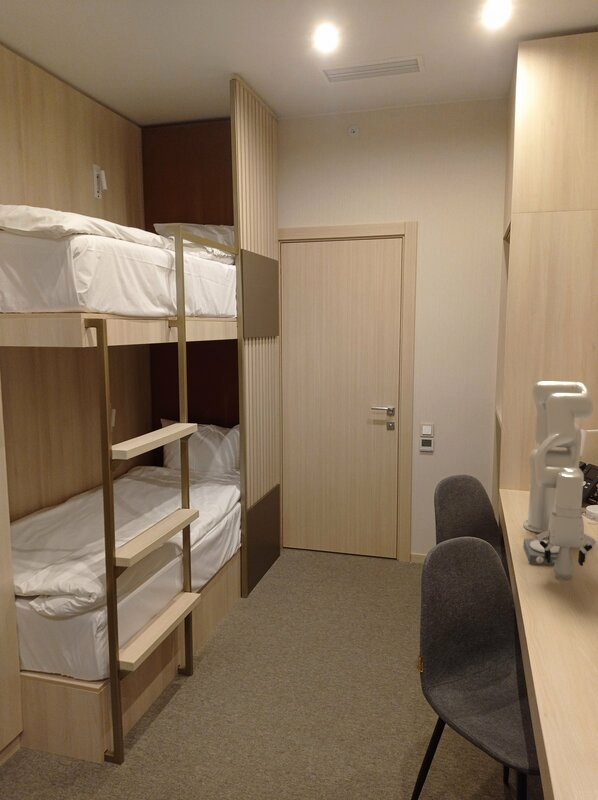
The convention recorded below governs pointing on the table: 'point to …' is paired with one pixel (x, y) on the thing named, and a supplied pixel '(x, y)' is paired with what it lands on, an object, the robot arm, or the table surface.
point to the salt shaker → (564, 563)
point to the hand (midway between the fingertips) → (564, 562)
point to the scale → (539, 552)
